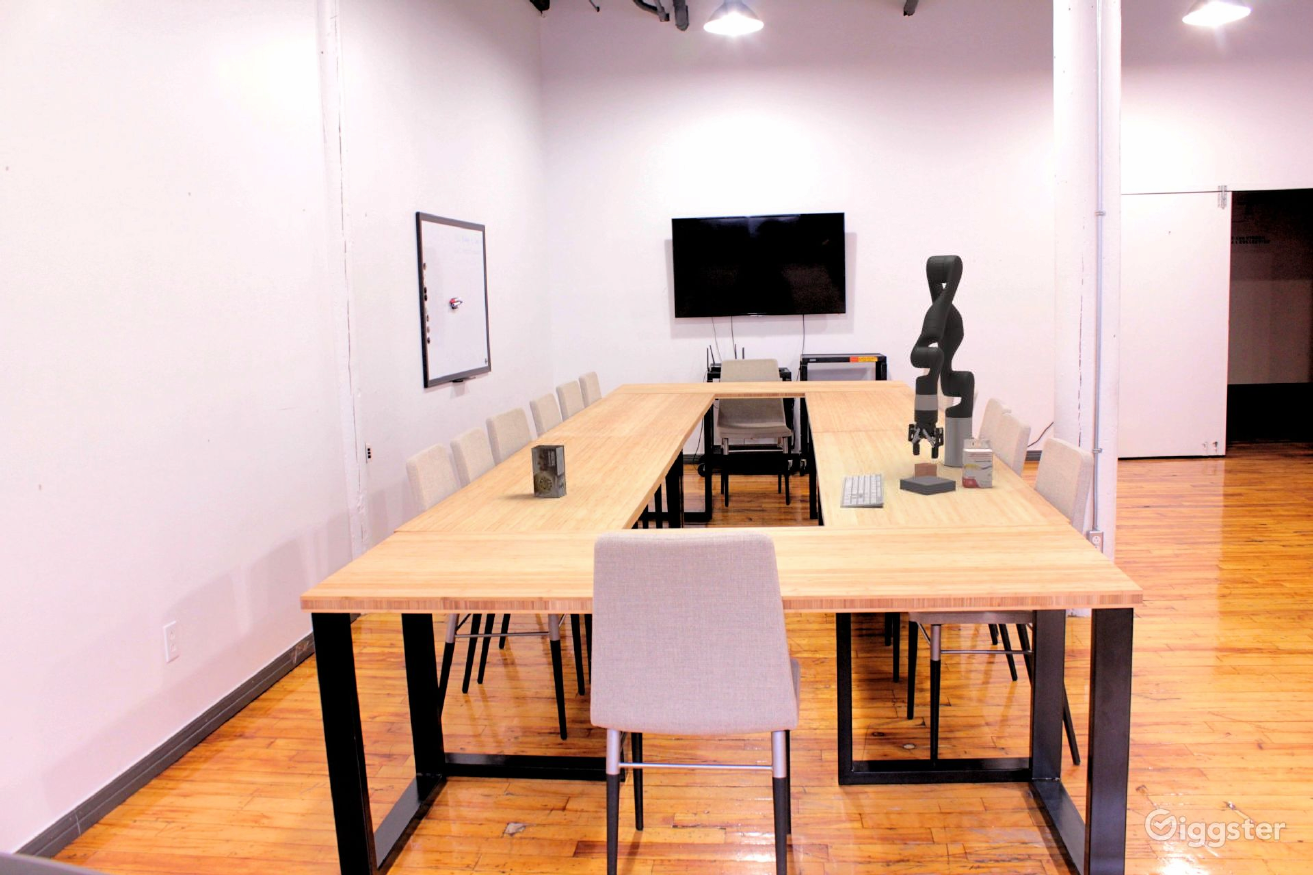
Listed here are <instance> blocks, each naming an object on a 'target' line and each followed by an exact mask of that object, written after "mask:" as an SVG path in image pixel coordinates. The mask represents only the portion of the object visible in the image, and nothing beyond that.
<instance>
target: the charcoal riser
mask: <svg viewBox="0 0 1313 875" xmlns="http://www.w3.org/2000/svg"><path fill="white" fill-rule="evenodd" d="M956 485H957V481H956V480H954V479H949V478H944V477H940V476H937V477H936V476H931V475H925V476H919V477H906V478H900V479H899V489H900V490H904V489H905V491H909V492H913V493H916V492H917V493H916V494H921V495H924V494H925V496H928V495H936V494H940V493H941V492H942V493H947V492H955V491H956V490H957V486H956ZM942 493H941V494H942Z"/></svg>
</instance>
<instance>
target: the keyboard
mask: <svg viewBox="0 0 1313 875" xmlns="http://www.w3.org/2000/svg"><path fill="white" fill-rule="evenodd" d="M842 484H843V485H842V492H841V499H840V508H869V507H870V508H883V506H884V488H883V484H884V482H883V473H875V474H874V473H873V474H862V475H852V476H845V477H844V478H843V483H842Z"/></svg>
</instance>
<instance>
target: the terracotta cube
mask: <svg viewBox="0 0 1313 875" xmlns="http://www.w3.org/2000/svg"><path fill="white" fill-rule="evenodd" d="M937 467H938V465H937V464H936V463H931V462H920V463H914V474H913V475H914V477H919V476H925V475H931V476H936V477H938V476H937V474H938V473H937V472H938V471H937V470H938V469H937Z"/></svg>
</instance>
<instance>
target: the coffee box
mask: <svg viewBox="0 0 1313 875" xmlns="http://www.w3.org/2000/svg"><path fill="white" fill-rule="evenodd" d="M530 449H531V463H532V464H531V465H532V480H533V482H532V484H533V497H534V498H561V497H563V496H565V495H567V476H566V463H565V462H566V458H565V445H564V444H563V445H561V444H538V445H535V446H534V447H532V448H530Z"/></svg>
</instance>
